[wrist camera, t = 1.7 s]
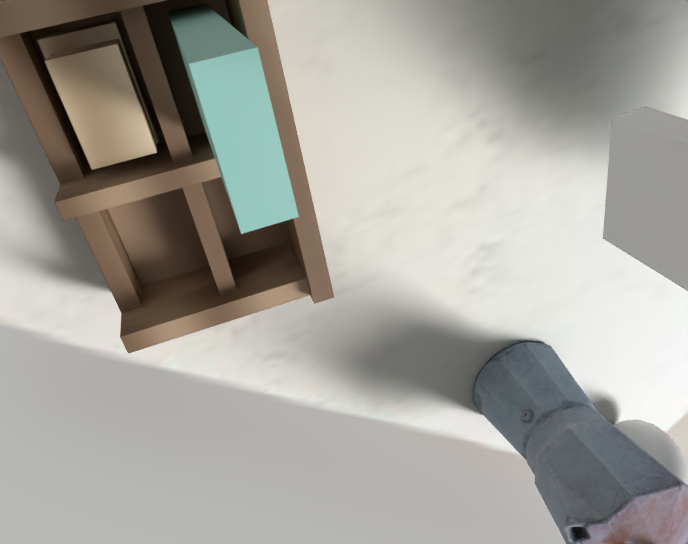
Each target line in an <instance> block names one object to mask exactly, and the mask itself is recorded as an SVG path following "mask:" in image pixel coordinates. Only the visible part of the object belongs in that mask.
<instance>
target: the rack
mask: <svg viewBox="0 0 688 544" xmlns="http://www.w3.org/2000/svg"><path fill="white" fill-rule="evenodd" d="M203 4H207V5H208V6H209V7H210V8H211V9H213V10H214V11H215V12H216V13H217V14H219V15H220V16H221V17H222V18H223V19H225V20H226V21H227V22H228V23H229V24H231V25H232V26H233V27H234V28H235V29H236V30H238V31H239V32H240V33H241V34H242V35H244V36H245V37H246V38H247V39H248V40H250V41H251V42H252V43H253V44H254V45H256V46H257V47H258V51H259V55H260V59H261V63H262V67H263V71H264V75H265V80H266V84H267V88H268V92H269V96H270V100H271V104H272V108H273V112H274V117H275V121H276V125H277V129H278V133H279V137H280V141H281V145H282V149H283V154H284V158H285V162H286V166H287V170H288V174H289V178H290V182H291V187H292V191H293V195H294V199H295V203H296V207H297V211H298V215H299V217H297V218H293V219H290V220H287V221H283V222H280V223H276V224H273V225H270V226H266V227H263V228H260V229H256V230H253V231H250V232H246V233H243V234H241V232H240V229H239V226H238V223H237V220H236V217H235V215H234V212H233V209H232V206H231V203H230V200H229V197H228V195H227V192H226V189H225V186H224V183H223V180H222V178H221V175H220V172H219V169H218V166H217V163H216V160H215V158H214V155H213V152H212V149H211V146H210V143H209V140H208V138H207V135H206V132H205V129H204V126H203V123H202V120H201V118H200V114H199V111H198V108H197V105H196V102H195V98H194V95H193V92H192V89H191V86H190V83H189V79H188V76H187V73H186V70H185V67H184V63H183V60H182V57H181V54H180V51H179V47H178V44H177V41H176V38H175V35H174V31H173V28H172V25H171V22H170V19H169V15H168V12H172V11H176V10H181V9H185V8H189V7H194V6H198V5H203ZM116 18H117V21H118V23H119V26H120V29H121V32H122V34H123V37H124V40H125V43H126V46H127V48H128V51H129V54H130V57H131V60H132V62H133V65H134V68H135V71H136V74H137V76H138V79H139V82H140V85H141V87H142V90H143V93H144V96H145V99H146V101H147V104H148V107H149V110H150V113H151V115H152V118H153V121H154V124H155V127H156V129H157V132H158V142H159V143H156V147H157V153H153V154H150V155H146V156H142V157H138V158H135V159H131V160H127V161H124V162H120V163H116V164H112V165H109V166H105V167H101V168H97V169H94V170H92V169H91V166H90V164H89V162H88V160H87V157H86V155H85V153H84V150H83V148H82V146H81V143H80V141H79V139H78V137H77V134H76V132H75V130H74V127H73V125H72V123H71V121H70V118H69V116H68V114H67V111H66V109H65V107H64V105H63V102H62V100H61V98H60V95H59V93H58V91H57V89H56V86H55V84H54V82H53V79H52V77H51V75H50V72H49V70H48V68H47V66H46V63H45V60H46V59H45V57H44V55H43V52H42V50H41V48H40V45H39V43H38V41H37V40H38V39H39V38H40V37H42V36H43V35H45V34H50V33H54V32H59V31H63V30H67V29H72V28H76V27H81V26H85V25H90V24H94V23H98V22H103V21H107V20H112V19H116ZM0 58H1V60H2V62H3V64H4V66H5V69H6V71H7V73H8V75H9V77H10V79H11V81H12V83H13V85H14V88H15V90H16V92H17V94H18V96H19V98H20V100H21V102H22V104H23V106H24V109H25V111H26V113H27V115H28V117H29V119H30V121H31V123H32V125H33V128H34V130H35V132H36V134H37V136H38V138H39V140H40V142H41V144H42V146H43V149H44V151H45V153H46V155H47V157H48V159H49V161H50V163H51V165H52V168H53V170H54V172H55V174H56V176H57V178H58V180H59V182H60V184H61V185H60V188H59V191H58V194H57V197H56V199H55V202H54V203H55V205H56V207H57V209H58V211H59V213H60V215H61V217H62V219H63V221H65V220H69V219H72V218H77V220H78V222H79V224H80V227H81V229H82V231H83V233H84V235H85V237H86V239H87V241H88V243H89V246H90V248H91V250H92V252H93V254H94V256H95V258H96V260H97V262H98V264H99V267H100V269H101V271H102V273H103V275H104V277H105V279H106V281H107V283H108V286H109V288H110V290H111V292H112V294H113V296H114V298H115V300H116V302H117V304H118V307H119V309H120V311H121V313H122V315H121V333H120V337H121V339H122V342H123V344H124V346H125V348H126V350H127V352H128V353H131V352H134V351H138V350H141V349H144V348H147V347H150V346H153V345H156V344H159V343H162V342H166V341H169V340H172V339H175V338H178V337H181V336H184V335H187V334H190V333H193V332H197V331H200V330H203V329H206V328H209V327H212V326H215V325H218V324H221V323H225V322H228V321H231V320H234V319H237V318H240V317H243V316H246V315H249V314H253V313H256V312H259V311H262V310H265V309H268V308H271V307H274V306H277V305H281V304H284V303H287V302H290V301H293V300H296V299H299V298H302V297H305V296H308V295H311V297H312V299H313V301H314V304H315V303H318V302H321V301H324V300H327V299H330V298H333V297H334V295H333V290H332V286H331V282H330V277H329V273H328V268H327V264H326V259H325V255H324V251H323V246H322V242H321V237H320V233H319V228H318V224H317V219H316V215H315V211H314V206H313V202H312V197H311V193H310V188H309V184H308V180H307V175H306V171H305V166H304V162H303V157H302V153H301V149H300V144H299V140H298V135H297V131H296V126H295V122H294V117H293V113H292V109H291V104H290V100H289V95H288V91H287V86H286V82H285V78H284V73H283V69H282V64H281V60H280V55H279V51H278V47H277V42H276V38H275V33H274V29H273V24H272V20H271V15H270V11H269V7H268V2H267V0H0Z"/></svg>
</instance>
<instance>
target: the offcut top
mask: <svg viewBox="0 0 688 544" xmlns="http://www.w3.org/2000/svg"><path fill="white" fill-rule="evenodd" d="M45 63H46V66H47V68H48V70H49V72H50V75H51V77H52V79H53V82H54V84H55V86H56V89H57V91H58V93H59V95H60V98H61V100H62V102H63V105H64V107H65V109H66V111H67V114H68V116H69V118H70V121H71V123H72V125H73V127H74V130H75V132H76V134H77V137H78V139H79V141H80V143H81V146H82V148H83V150H84V153H85V155H86V157H87V160H88V162H89V164H90V166H91V169H92V170H94V169H97V168H101V167H105V166H109V165H112V164H116V163H120V162H124V161H127V160H131V159H135V158H138V157H142V156H146V155H150V154H153V153H157V147H156V140H155V137H154V134H153V132H152V129H151V126H150V123H149V121H148V118H147V115H146V112H145V110H144V107H143V104H142V101H141V99H140V96H139V93H138V90H137V88H136V85H135V82H134V79H133V77H132V74H131V71H130V68H129V66H128V63H127V60H126V57H125V54H124V52H123V49H122V46H121V43H120V41H119V38H118V39H114V40H110V41H106V42H101V43H97V44H93V45H88V46H84V47H80V48H75V49H71V50H67V51H62V52H58V53H54V54H50V55H49V57H48V58H47V59H46V60H45Z"/></svg>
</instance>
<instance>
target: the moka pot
mask: <svg viewBox="0 0 688 544" xmlns="http://www.w3.org/2000/svg"><path fill="white" fill-rule="evenodd" d="M474 404H475V405H476V407H477V408H478V409H479V410H480V412H481V413H482V414H483V415H484V416H485V417H486V418H487V419H488V420H489V421H490V422H491V424H492V425H493V426H494V427H495V428H496V429H497V430H498V431H499V432H500V433H501V434H502V435H503V436H504V437H505V438H506V439H507V440H508V441H509V442H510V443H511V445H512V446H513V447H514V448H515V449H516V450H517V451H518V452H519V453H520V454H521V455H522V456H523V457H524V458H525V459H526V460H527V463H528V465H529V466H530V468H531V470H532V471H533V473H534V475H535V484H536V486H537V488H538V490H539V492H540V494H541V496H542V498H543V500H544V502H545V504H546V506H547V508H548V510H549V511H550V513H551V515H552V517H553V519H554V521H555V522H556V524H557V526H558V528H559V530H560V532H561V534H562V536H563V538H564V540H565V542H566V544H688V485H687V484H686V483H685V482H683V481H682V480H681V479H680V478H678V477H677V476H676V475H675V474H674V473H672V472H671V471H670V470H669V469H667V468H666V467H665V466H664V465H663V464H661V463H660V462H659V461H658V460H656V459H655V458H654V457H653V456H652V455H650V454H649V453H648V452H647V451H646V450H644V449H643V448H642V447H641V446H640V445H638V444H637V443H636V442H635V441H633V440H632V439H631V438H630V437H628V436H627V435H626V434H625V433H623V432H622V431H621V430H619V429H618V428H617V427H616V426H614V425H613V424H612V423H610V422H609V421H608V420H607V419H606V418H605V417H604V416H603V415H602V414H601V413H600V412H598V411H597V410H596V408H595V407H594V406H593V404H592V403H591V401H590V400H589V399H588V397H587V396H586V395H585V393H584V392H583V391H582V389H581V388H580V386H579V385H578V384H577V382H576V381H575V380H574V378H573V377H572V375H571V374H570V372H569V371H568V370H567V368H566V367H565V365H564V364H563V363H562V361H561V360H560V358H559V357H558V355H557V354H556V353H555V351H554V350H553V349H552V347H551V346H549V345H547V344H543V343H536V342H529V341H528V342H524V343H520V344H515V345H513V346H511V347H509V348H506V349H504V350H502V351H500V352H499V353H498V354H496V355H495V356H494V357H493V358H492V359H491V360H490V361H489V362H488V363H487V364H486V365H485V366H484V367H483V369H482V370H481V372H480V374H479V375H478V377H477V380H476V382H475V386H474Z"/></svg>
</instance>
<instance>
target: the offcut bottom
mask: <svg viewBox="0 0 688 544" xmlns="http://www.w3.org/2000/svg"><path fill="white" fill-rule="evenodd" d="M118 38H119V41H120V43H121V46H122V49H123V52H124V54H125V57H126V60H127V63H128V66H129V68H130V71H131V74H132V77H133V79H134V82H135V85H136V88H137V90H138V93H139V96H140V99H141V101H142V104H143V107H144V110H145V112H146V115H147V118H148V121H149V123H150V126H151V129H152V132H153V134H154V137H155V140H156V143H159V142H158V132H157V129H156V127H155V124H154V121H153V118H152V115H151V113H150V110H149V107H148V104H147V101H146V99H145V96H144V93H143V90H142V87H141V85H140V82H139V79H138V76H137V74H136V71H135V68H134V65H133V62H132V60H131V57H130V54H129V51H128V48H127V46H126V43H125V40H124V37H123V34H122V32H121V29H120V26H119V23H118V21H117V18H116V19H112V20H107V21H103V22H98V23H94V24H90V25H85V26H81V27H76V28H72V29H67V30H63V31H59V32H54V33H50V34H45V35H43V36H42V37H40V38H39V39H38V40H37V41H38V43H39V45H40V48H41V50H42V52H43V55H44V57H45V59H47V58H48V57H49V55H50V54H54V53H58V52H62V51H67V50H71V49H75V48H80V47H84V46H88V45H93V44H97V43H101V42H106V41H110V40H114V39H118Z"/></svg>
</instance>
